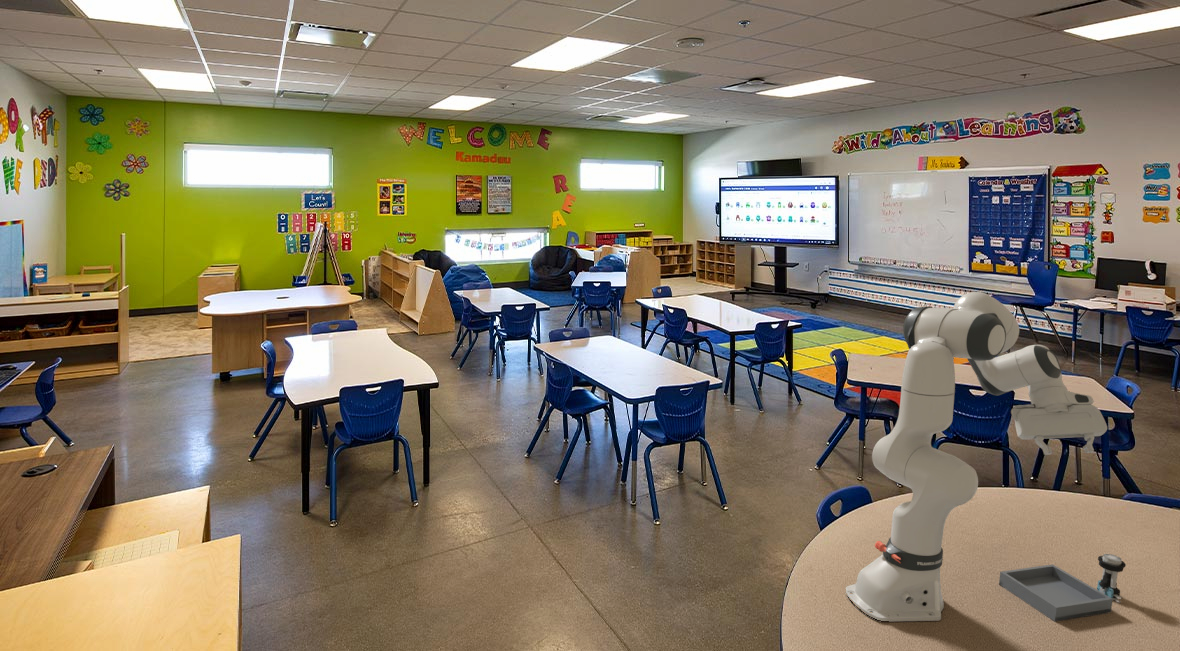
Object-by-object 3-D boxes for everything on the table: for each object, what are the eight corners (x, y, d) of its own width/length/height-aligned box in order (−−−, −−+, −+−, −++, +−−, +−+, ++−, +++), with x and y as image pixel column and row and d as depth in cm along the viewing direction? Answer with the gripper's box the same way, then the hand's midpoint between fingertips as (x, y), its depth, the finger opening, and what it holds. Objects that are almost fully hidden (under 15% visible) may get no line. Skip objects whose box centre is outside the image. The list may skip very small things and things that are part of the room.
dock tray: (1054, 621, 155) (1056, 607, 154) (998, 584, 170) (1000, 571, 170) (1110, 612, 158) (1112, 598, 158) (1051, 576, 174) (1052, 564, 173)
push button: (1130, 604, 162) (1135, 566, 160) (1107, 604, 162) (1112, 565, 160) (1110, 589, 168) (1115, 552, 167) (1088, 588, 168) (1093, 551, 167)
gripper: (1012, 401, 178) (1028, 451, 171) (1099, 396, 175) (1118, 447, 168) (1005, 410, 184) (1020, 459, 177) (1088, 405, 180) (1107, 455, 173)
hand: (1069, 453), depth 172 cm, fingers open, 8 cm apart
